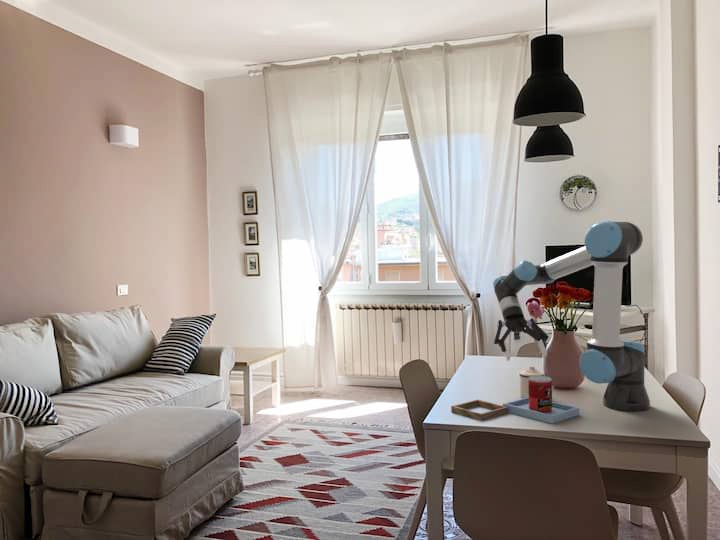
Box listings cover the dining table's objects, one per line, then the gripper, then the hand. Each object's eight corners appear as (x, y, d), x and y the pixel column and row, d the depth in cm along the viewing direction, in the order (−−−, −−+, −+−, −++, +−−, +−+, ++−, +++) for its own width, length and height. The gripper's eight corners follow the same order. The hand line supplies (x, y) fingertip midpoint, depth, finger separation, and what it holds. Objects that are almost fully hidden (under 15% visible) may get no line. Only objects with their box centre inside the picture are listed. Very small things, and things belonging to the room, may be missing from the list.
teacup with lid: (543, 400, 217) (543, 369, 217) (518, 398, 221) (517, 368, 221) (546, 393, 228) (546, 363, 228) (522, 391, 232) (522, 362, 232)
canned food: (540, 414, 196) (540, 381, 196) (523, 408, 204) (523, 377, 203) (557, 411, 200) (557, 378, 200) (540, 405, 207) (539, 374, 207)
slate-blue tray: (579, 415, 198) (579, 407, 198) (552, 423, 189) (552, 416, 189) (529, 403, 214) (529, 396, 214) (502, 410, 205) (502, 403, 205)
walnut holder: (508, 412, 203) (507, 407, 203) (481, 420, 194) (481, 414, 194) (477, 405, 213) (477, 399, 213) (451, 411, 205) (451, 406, 205)
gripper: (540, 315, 231) (557, 361, 217) (478, 318, 228) (491, 365, 214) (545, 303, 225) (563, 349, 211) (481, 306, 223) (495, 353, 209)
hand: (527, 357), depth 213 cm, fingers open, 13 cm apart
